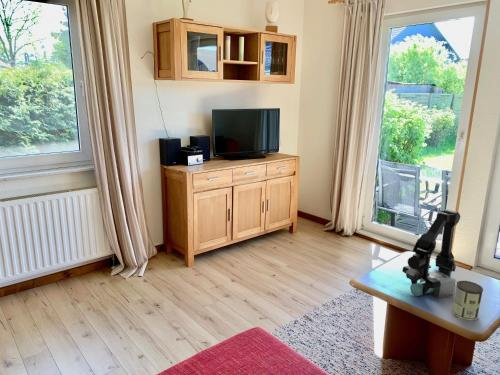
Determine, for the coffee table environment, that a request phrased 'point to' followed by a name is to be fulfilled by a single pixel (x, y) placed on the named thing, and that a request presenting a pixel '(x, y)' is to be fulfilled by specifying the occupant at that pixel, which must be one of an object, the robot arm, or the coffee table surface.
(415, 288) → the pale green cylinder
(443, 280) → the housing
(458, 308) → the coffee can
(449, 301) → the coffee table surface
